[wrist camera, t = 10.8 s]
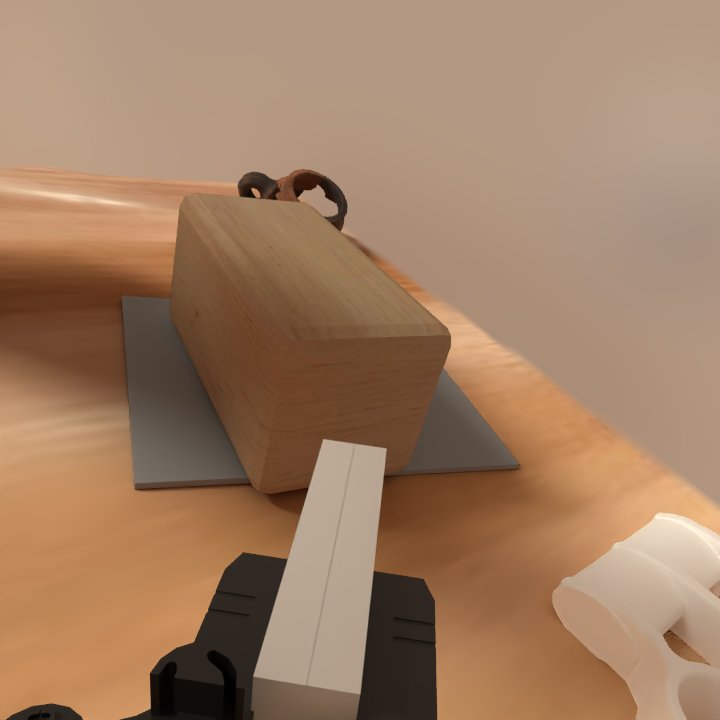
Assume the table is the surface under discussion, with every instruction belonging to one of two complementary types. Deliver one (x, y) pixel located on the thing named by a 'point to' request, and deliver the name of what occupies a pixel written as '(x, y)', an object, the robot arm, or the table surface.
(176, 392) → the rubber mat
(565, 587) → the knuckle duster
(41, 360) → the table surface
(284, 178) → the brown hollow looped part
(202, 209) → the wooden block
